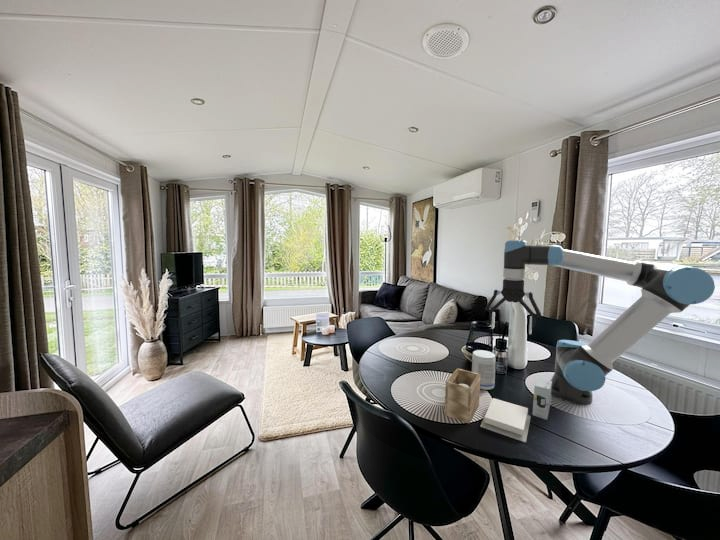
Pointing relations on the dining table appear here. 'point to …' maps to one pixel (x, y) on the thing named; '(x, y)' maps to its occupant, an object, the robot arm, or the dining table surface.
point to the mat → (508, 433)
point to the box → (462, 395)
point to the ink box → (542, 398)
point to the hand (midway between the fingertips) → (511, 330)
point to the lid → (506, 416)
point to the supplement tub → (484, 368)
